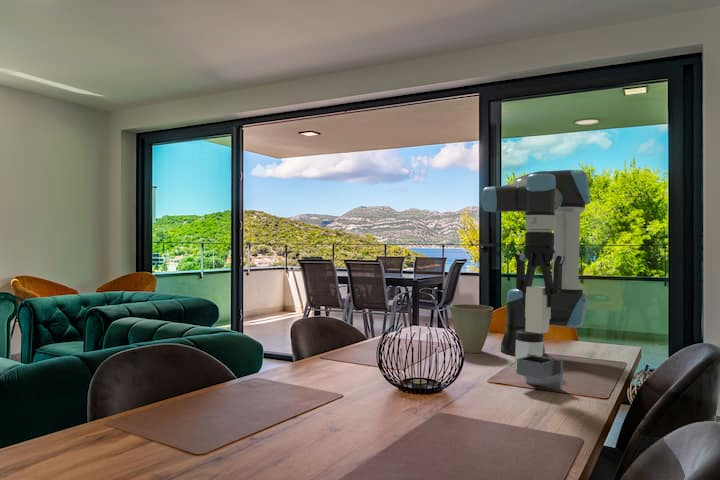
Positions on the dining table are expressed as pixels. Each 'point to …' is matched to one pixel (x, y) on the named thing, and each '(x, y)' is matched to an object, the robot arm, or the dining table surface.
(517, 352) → the jar
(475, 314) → the plant pot
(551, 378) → the cup bracket
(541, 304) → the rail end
